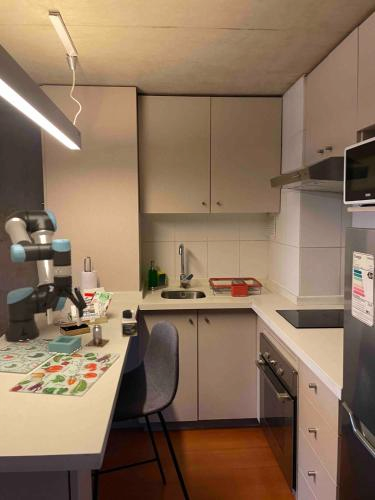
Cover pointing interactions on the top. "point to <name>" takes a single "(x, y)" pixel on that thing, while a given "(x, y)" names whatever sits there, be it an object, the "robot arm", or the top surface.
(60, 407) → the top surface
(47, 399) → the top surface
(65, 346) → the collar
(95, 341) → the post
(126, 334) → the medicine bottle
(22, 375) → the top surface
